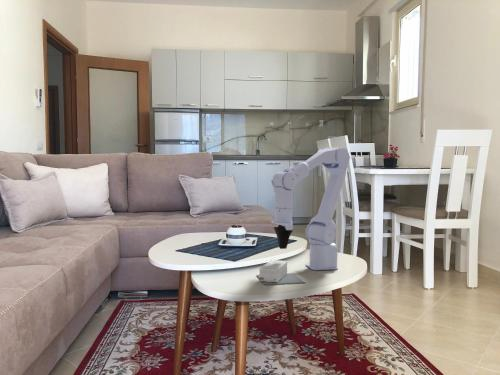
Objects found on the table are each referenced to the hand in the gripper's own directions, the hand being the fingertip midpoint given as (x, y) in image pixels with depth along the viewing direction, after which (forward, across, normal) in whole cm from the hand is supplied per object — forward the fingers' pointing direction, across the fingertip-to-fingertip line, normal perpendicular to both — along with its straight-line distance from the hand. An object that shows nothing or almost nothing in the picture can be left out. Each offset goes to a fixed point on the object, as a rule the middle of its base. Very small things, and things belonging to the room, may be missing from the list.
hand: (282, 248), depth 140 cm
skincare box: (+7, -2, -1) cm, 7 cm away
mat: (+9, +6, -2) cm, 11 cm away
